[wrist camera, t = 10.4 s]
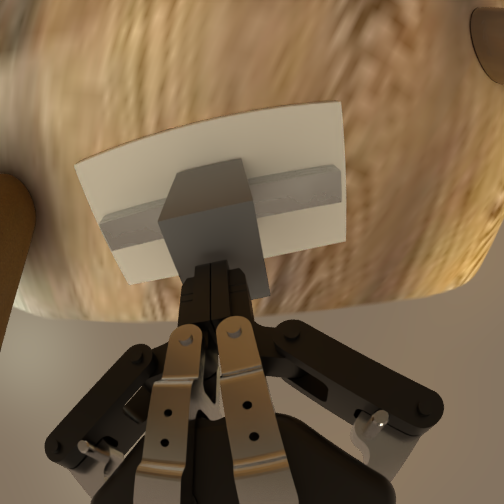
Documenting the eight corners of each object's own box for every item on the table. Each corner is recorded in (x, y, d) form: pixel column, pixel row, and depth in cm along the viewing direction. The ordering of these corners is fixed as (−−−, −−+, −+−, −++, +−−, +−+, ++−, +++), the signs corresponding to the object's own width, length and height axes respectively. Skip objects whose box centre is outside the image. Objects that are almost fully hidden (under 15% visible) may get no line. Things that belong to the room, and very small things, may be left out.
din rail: (333, 164, 19) (341, 170, 18) (334, 194, 21) (341, 202, 20) (105, 215, 20) (98, 224, 18) (116, 240, 21) (111, 251, 20)
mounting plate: (335, 100, 17) (340, 101, 17) (341, 235, 24) (345, 241, 24) (79, 161, 18) (73, 165, 17) (131, 278, 25) (129, 285, 24)
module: (241, 158, 18) (253, 200, 12) (255, 232, 21) (270, 295, 16) (176, 173, 18) (157, 221, 12) (199, 244, 21) (194, 310, 16)
